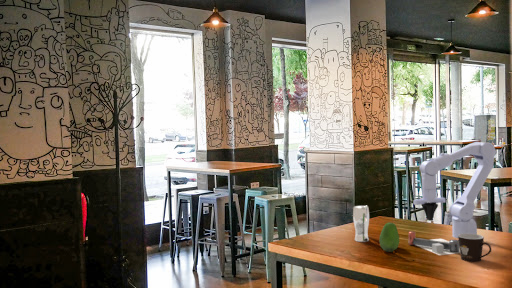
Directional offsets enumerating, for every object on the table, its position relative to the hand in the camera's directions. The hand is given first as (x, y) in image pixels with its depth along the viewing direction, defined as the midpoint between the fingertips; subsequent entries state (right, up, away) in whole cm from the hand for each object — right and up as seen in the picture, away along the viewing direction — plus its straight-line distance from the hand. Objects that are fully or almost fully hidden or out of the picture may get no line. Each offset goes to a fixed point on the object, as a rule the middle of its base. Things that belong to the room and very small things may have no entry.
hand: (429, 220), depth 211 cm
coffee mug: (+4, -11, -34) cm, 36 cm away
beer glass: (-28, -10, +7) cm, 31 cm away
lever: (-4, -8, -16) cm, 19 cm away
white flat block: (0, -10, -13) cm, 17 cm away
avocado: (-21, -11, -13) cm, 27 cm away
